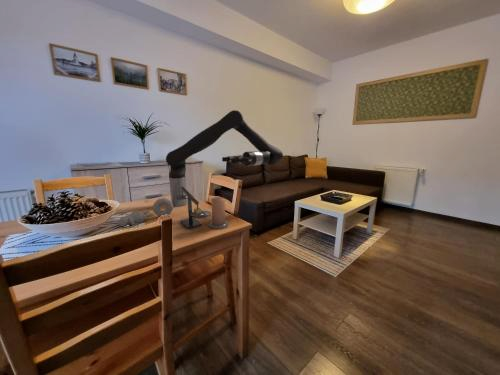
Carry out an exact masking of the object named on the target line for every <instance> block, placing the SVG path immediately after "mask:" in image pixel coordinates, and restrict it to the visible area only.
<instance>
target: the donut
mask: <svg viewBox="0 0 500 375" xmlns="http://www.w3.org/2000/svg"><path fill="white" fill-rule="evenodd" d="M163 205H165V207H166V208H165V209H163V210H162V209H161V208H160V207H161V206H163ZM173 210H174V206H173V203H172V202H171V199H169V198H166V197H161V198H159V199H157V200H155V202H154V203H153V205H152V211H153V213H154V215H156V216H158V217H160V216H161V215H165V214H168V215H167V216H169V215H171V214H172V212H173Z"/></svg>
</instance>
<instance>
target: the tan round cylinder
mask: <svg viewBox="0 0 500 375" xmlns="http://www.w3.org/2000/svg"><path fill="white" fill-rule="evenodd" d="M210 200H211V219H212V220H211V221H212V224H213V225H215V226H221V225H224V224H225V221H226V206H225V205H226V204H225V203H226V202H225V197H220V196H217V197H215V196H214V197H213V198H210Z"/></svg>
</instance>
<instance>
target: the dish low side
mask: <svg viewBox="0 0 500 375" xmlns="http://www.w3.org/2000/svg"><path fill="white" fill-rule="evenodd" d="M208 223H209V224H208V227H209V228H210V229H213V230H222V229H226V228H227V227H229V222H228V221H227V220H225V224H224V225H221V226H215V225H213V224H212V220H211V221H210V222H208Z"/></svg>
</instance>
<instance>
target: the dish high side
mask: <svg viewBox="0 0 500 375" xmlns="http://www.w3.org/2000/svg"><path fill="white" fill-rule="evenodd" d="M201 211H203V212H205V215H204V216H201V217H196V218H198V219H204V218H208V217H210V216H211V215H212V212H211V211H210V210H205V209H201Z"/></svg>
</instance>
